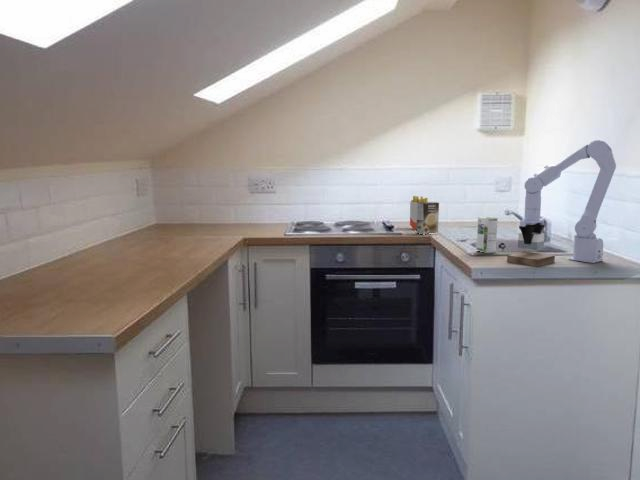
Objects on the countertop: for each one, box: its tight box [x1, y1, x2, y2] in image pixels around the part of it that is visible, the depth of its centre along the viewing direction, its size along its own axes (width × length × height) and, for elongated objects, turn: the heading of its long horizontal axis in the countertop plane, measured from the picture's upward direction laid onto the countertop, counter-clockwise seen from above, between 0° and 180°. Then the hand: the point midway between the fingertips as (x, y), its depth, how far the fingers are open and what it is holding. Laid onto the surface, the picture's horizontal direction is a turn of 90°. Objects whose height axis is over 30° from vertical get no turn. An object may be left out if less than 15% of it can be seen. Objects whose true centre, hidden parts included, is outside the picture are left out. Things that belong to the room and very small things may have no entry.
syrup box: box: [476, 215, 498, 254], centre depth 218 cm, size 6×6×14 cm
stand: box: [506, 250, 556, 267], centre depth 197 cm, size 12×12×2 cm
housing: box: [517, 231, 545, 251], centre depth 209 cm, size 8×5×6 cm, turn 39°
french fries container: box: [409, 195, 429, 230], centre depth 285 cm, size 5×11×18 cm, turn 41°
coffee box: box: [415, 201, 440, 235], centre depth 269 cm, size 9×6×16 cm
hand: (531, 243), depth 209 cm, fingers closed on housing, 5 cm apart
